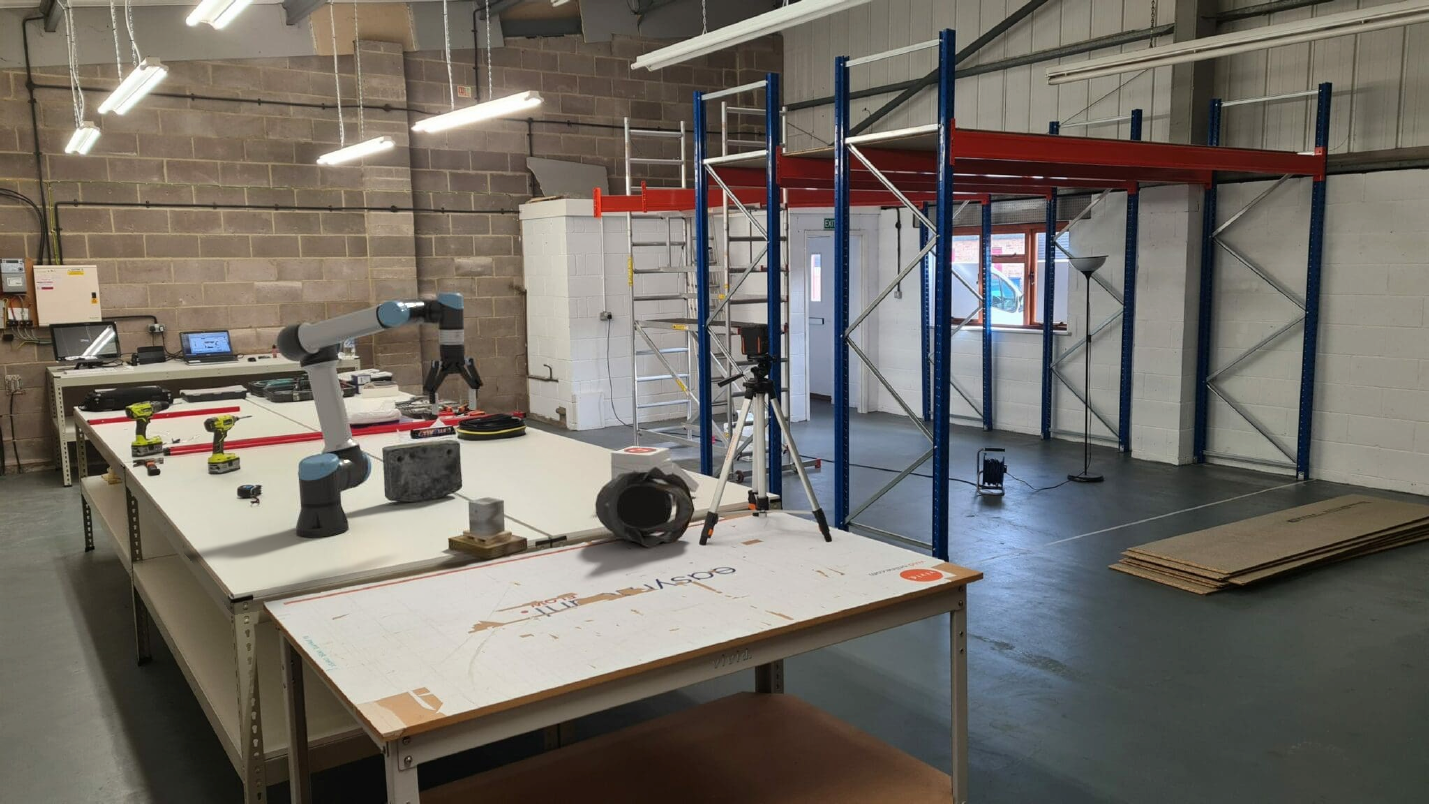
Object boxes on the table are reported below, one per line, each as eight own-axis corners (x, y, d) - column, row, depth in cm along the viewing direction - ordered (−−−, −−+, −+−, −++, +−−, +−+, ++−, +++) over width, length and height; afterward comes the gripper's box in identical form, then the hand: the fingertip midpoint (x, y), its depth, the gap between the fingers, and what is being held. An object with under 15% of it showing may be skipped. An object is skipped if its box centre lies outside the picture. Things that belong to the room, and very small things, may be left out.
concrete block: (455, 492, 358) (452, 438, 355) (464, 497, 350) (461, 441, 348) (381, 502, 342) (378, 446, 340) (388, 507, 335) (385, 449, 333)
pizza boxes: (703, 496, 348) (702, 446, 346) (638, 510, 327) (637, 457, 324) (666, 488, 361) (665, 440, 359) (602, 502, 340) (601, 450, 338)
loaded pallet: (489, 544, 275) (487, 506, 274) (463, 537, 283) (461, 500, 281) (511, 538, 281) (510, 501, 280) (485, 532, 289) (484, 495, 288)
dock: (487, 559, 271) (487, 548, 271) (448, 548, 283) (448, 538, 282) (527, 548, 282) (527, 537, 282) (488, 538, 293) (487, 528, 293)
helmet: (708, 470, 289) (665, 470, 310) (614, 462, 272) (574, 463, 293) (704, 550, 287) (660, 545, 307) (608, 547, 269) (569, 542, 290)
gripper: (423, 346, 289) (426, 417, 291) (492, 341, 308) (494, 408, 310) (409, 345, 293) (412, 415, 296) (478, 340, 312) (480, 406, 315)
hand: (454, 412), depth 303 cm, fingers open, 13 cm apart
